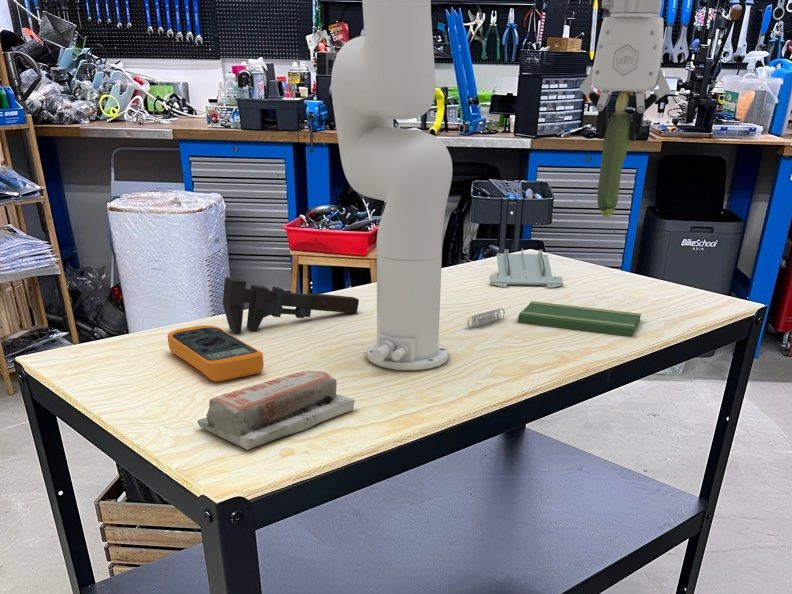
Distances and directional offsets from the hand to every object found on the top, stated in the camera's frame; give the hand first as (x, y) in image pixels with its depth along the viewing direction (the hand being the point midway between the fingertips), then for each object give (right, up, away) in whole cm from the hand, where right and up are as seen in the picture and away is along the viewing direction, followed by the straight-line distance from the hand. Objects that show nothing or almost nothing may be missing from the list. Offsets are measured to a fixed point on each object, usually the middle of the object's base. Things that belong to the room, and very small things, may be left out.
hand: (617, 137), depth 132 cm
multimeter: (-64, -40, -11) cm, 77 cm away
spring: (-21, -29, +9) cm, 37 cm away
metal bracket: (-10, -11, +37) cm, 40 cm away
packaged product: (-51, -52, -30) cm, 79 cm away
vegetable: (0, -11, +7) cm, 13 cm away
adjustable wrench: (-55, -29, +8) cm, 62 cm away
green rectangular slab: (-4, -28, +10) cm, 30 cm away
